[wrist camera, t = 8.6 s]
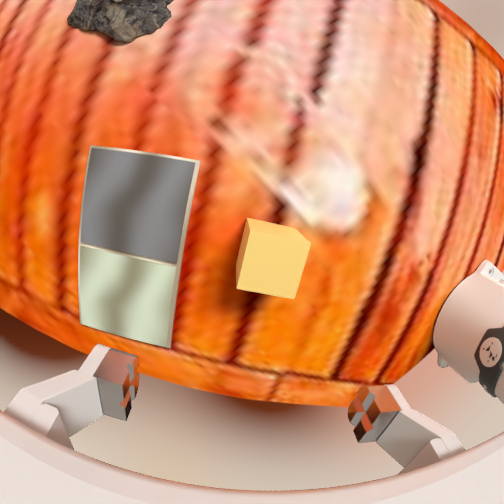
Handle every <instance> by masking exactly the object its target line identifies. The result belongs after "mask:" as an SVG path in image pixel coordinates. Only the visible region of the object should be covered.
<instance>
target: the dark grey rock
mask: <svg viewBox="0 0 504 504" xmlns="http://www.w3.org/2000/svg"><path fill="white" fill-rule="evenodd" d="M172 1H173V0H77V2H76V5H75V7H74V9H73V11H72V12H71V14H70V15H69V17H68V19H67V20H68V23H69V25H72V26H73V27H77V28H80V29H82V30H90V29H91V30H92V31H95V30H97V31H99V32H103V33H105V34H106V35H108V36H109V37H111V38H113V39H115V40H116V41H117V42H125V43H126V42H132V41H134V40H135V39H136V38H137V37H139V36H141V35H143V34H146V33H154V32H155V31H156V30H157V29H158V28H161V27H162V26H163V24H164V23H165V22H166V21H167V20H168V19H169V18H171V11H170V10H168V8H167V5H168V4H170V3H171V2H172Z"/></svg>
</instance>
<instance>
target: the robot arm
mask: <svg viewBox="0 0 504 504" xmlns="http://www.w3.org/2000/svg"><path fill="white" fill-rule="evenodd" d="M433 343H434V347H435V349H436V351H437V352H438V365H439V366H441V367H442V368H444V367H448V366H450V367H451V368H452V369H453V370H455V371H456V372H457V373H458V374H459V375H460V376H461V377H462V378H464V379H465V380H466V381H467V382H468V383H475V382H478V381H479V383H480V384H481V385H482V386H483V387H484V390H485V391H486V392H487V393H489V394H491V395H492V396H493V397H498V398H499V400H500V401H501V402H502V403H503V404H504V275H503V274H502V273H501V272H500V271H499V270H498V269H497V268H496V267H495V266H494V265H493V264H492V263H491V262H489V261H488V260H484V261H483V262H482V263H481V264H480V266H479V267H478V268H477V270H476V271H475V272H474V273H473V274H471V275H470V276H468V277H467V278H466V279H464V280H463V281H462V282H461V283H460V284H459V285H458V286H457V287H456V288H455V289H454V290H453V292H452V293H451V294H450V296H449V297H448V299H447V300H446V302H445V304H444V305H443V307H442V309H441V311H440V313H439V316H438V318H437V321H436V324H435V328H434V334H433ZM138 366H139V357H138V356H136V355H132V354H129V353H126V352H123V351H120V350H116V349H113V348H110V347H107V346H104V345H101V344H98V345H96V346H95V347H94V349H93V350H92V351H91V353H90V354H89V356H88V357H87V359H86V360H85V361H84V363H83V365H82V366H81V367H80V369H79V370H78V371H77V370H72V371H69V372H67V373H64V374H61V375H59V376H56V377H53V378H50V379H48V380H45V381H42V382H39V383H36V384H34V385H31V386H28V387H25V388H22V389H21V390H20V391H19V392H18V394H17V395H16V397H15V398H14V399H13V400H12V402H11V403H10V404H9V406H8V407H7V408H6V410H5V411H4V412H3V411H1V410H0V504H504V432H502V433H500V434H499V435H497V436H495V437H493V438H491V439H489V440H487V441H485V442H483V443H481V444H479V445H477V446H475V447H473V448H471V449H469V450H465V449H464V447H463V446H462V444H461V443H460V441H459V440H458V438H457V437H456V435H455V434H454V432H452V431H450V430H448V429H447V428H445V427H443V426H442V425H440V424H438V423H437V422H435V421H433V420H431V419H430V418H428V417H427V416H425V415H423V414H422V413H420V412H418V411H417V410H415V409H411V407H410V406H409V404H408V403H407V401H406V400H405V398H404V397H403V395H402V394H401V392H400V391H399V389H398V387H397V386H396V385H394V384H390V385H369V386H362V387H361V388H359V390H358V392H357V396H358V397H357V398H355V399H354V400H353V401H352V402H351V404H350V406H349V408H348V419H349V421H350V423H351V424H352V425H354V426H355V428H354V430H353V431H354V434H355V436H356V439H357V441H358V443H363V442H374V441H376V443H377V444H378V445H379V446H380V447H382V448H383V449H384V450H385V451H386V452H387V453H388V454H389V455H391V456H392V457H393V458H394V459H395V460H396V461H397V462H398V463H399V464H400V465H402V466H403V467H404V469H403V470H402V471H401V472H400V473H399V474H398V475H395V476H391V477H387V478H382V479H378V480H373V481H368V482H364V483H357V484H352V485H345V486H338V487H331V488H321V489H309V490H292V491H251V490H234V489H221V488H213V487H204V486H198V485H191V484H185V483H180V482H175V481H169V480H165V479H160V478H156V477H152V476H148V475H144V474H140V473H137V472H133V471H130V470H126V469H123V468H119V467H117V466H114V465H111V464H108V463H105V462H102V461H99V460H97V459H94V458H91V457H89V456H86V455H84V454H81V453H79V452H77V451H75V450H74V448H73V446H72V444H71V441H70V439H69V437H70V436H72V435H74V434H75V433H77V432H78V431H80V430H82V429H83V428H85V427H86V426H88V425H89V424H91V423H92V422H94V421H95V420H97V419H98V418H100V417H102V416H103V414H104V415H108V416H111V417H114V418H118V419H121V420H125V421H126V420H127V418H128V415H129V413H130V410H131V400H133V399H135V397H136V394H137V390H138V386H139V373H138V372H137V369H138Z"/></svg>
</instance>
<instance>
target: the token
mask: <svg viewBox="0 0 504 504" xmlns="http://www.w3.org/2000/svg"><path fill="white" fill-rule="evenodd" d="M310 245H311V243H310V242H309V241H308V240H307V239H306V238H305V237H304V236H303V235H302V234H301V233H300V232H299V231H297V230H296V229H295V228H291V227H287V226H282V225H278V224H274V223H269V222H265V221H260V220H256V219H251V218H247V219H246V223H245V228H244V232H243V236H242V241H241V245H240V249H239V254H238V258H237V263H236V284H237V289H241V290H246V291H251V292H257V293H262V294H268V295H273V296H279V297H285V298H291V299H294V298H295V295H296V292H297V289H298V286H299V282H300V279H301V276H302V272H303V269H304V266H305V262H306V259H307V255H308V252H309V249H310Z"/></svg>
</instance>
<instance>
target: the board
mask: <svg viewBox="0 0 504 504" xmlns="http://www.w3.org/2000/svg"><path fill="white" fill-rule="evenodd" d="M200 164H201V161H199V160H193V159H188V158H182V157H176V156H170V155H163V154H157V153H150V152H143V151H136V150H128V149H120V148H111V147H102V146H92V145H90V150H89V155H88V161H87V167H86V173H85V180H84V188H83V196H82V205H81V216H80V229H79V250H78V291H79V312H80V324H83V325H86V326H89V327H92V328H95V329H99V330H102V331H105V332H109V333H112V334H115V335H119V336H123V337H126V338H130V339H134V340H137V341H141V342H145V343H149V344H153V345H158V346H162V347H166V348H171V342H172V333H173V324H174V315H175V307H176V300H177V292H178V285H179V278H180V271H181V265H182V258H183V252H184V246H185V240H186V234H187V229H188V223H189V218H190V212H191V207H192V202H193V197H194V192H195V187H196V182H197V178H198V173H199V168H200Z"/></svg>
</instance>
